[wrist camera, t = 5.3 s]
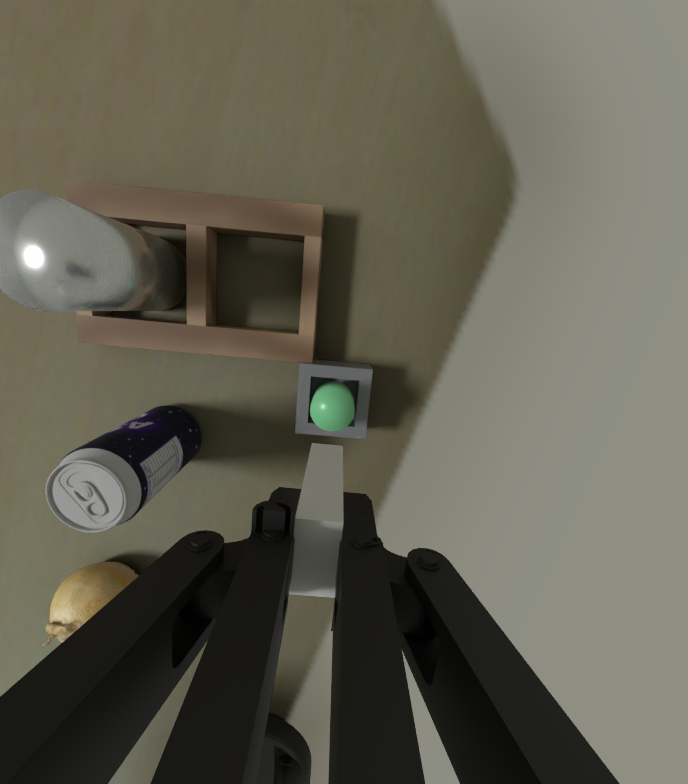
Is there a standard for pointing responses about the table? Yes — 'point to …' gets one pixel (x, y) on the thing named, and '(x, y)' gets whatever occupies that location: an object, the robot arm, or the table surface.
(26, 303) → the frosted drinking glass
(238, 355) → the glass rack
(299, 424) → the button housing
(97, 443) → the beverage can
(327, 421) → the button
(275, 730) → the robot arm
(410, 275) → the table surface
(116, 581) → the onion
